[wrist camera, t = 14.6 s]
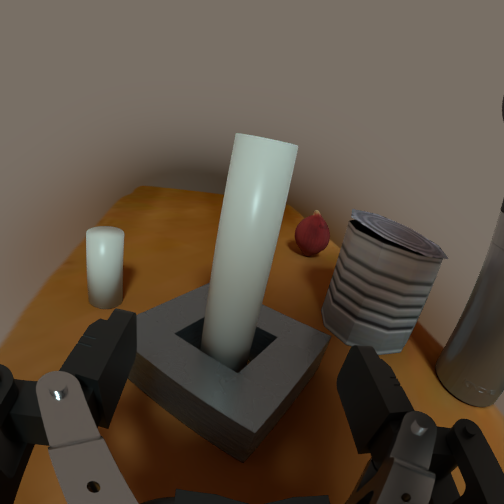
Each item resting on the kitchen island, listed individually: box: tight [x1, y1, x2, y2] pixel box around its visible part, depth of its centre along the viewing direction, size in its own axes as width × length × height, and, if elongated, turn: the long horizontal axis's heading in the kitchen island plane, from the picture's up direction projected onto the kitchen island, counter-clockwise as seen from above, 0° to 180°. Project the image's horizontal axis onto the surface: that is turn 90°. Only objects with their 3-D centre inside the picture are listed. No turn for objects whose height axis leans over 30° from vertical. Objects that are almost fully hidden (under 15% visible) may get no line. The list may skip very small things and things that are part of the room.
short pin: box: [86, 226, 124, 309], centre depth 27 cm, size 4×4×7 cm
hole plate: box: [128, 283, 331, 463], centre depth 22 cm, size 12×12×4 cm
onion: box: [295, 210, 330, 256], centre depth 50 cm, size 6×6×8 cm
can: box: [321, 209, 448, 355], centre depth 31 cm, size 11×11×12 cm
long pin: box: [200, 133, 298, 373], centre depth 20 cm, size 4×4×17 cm
